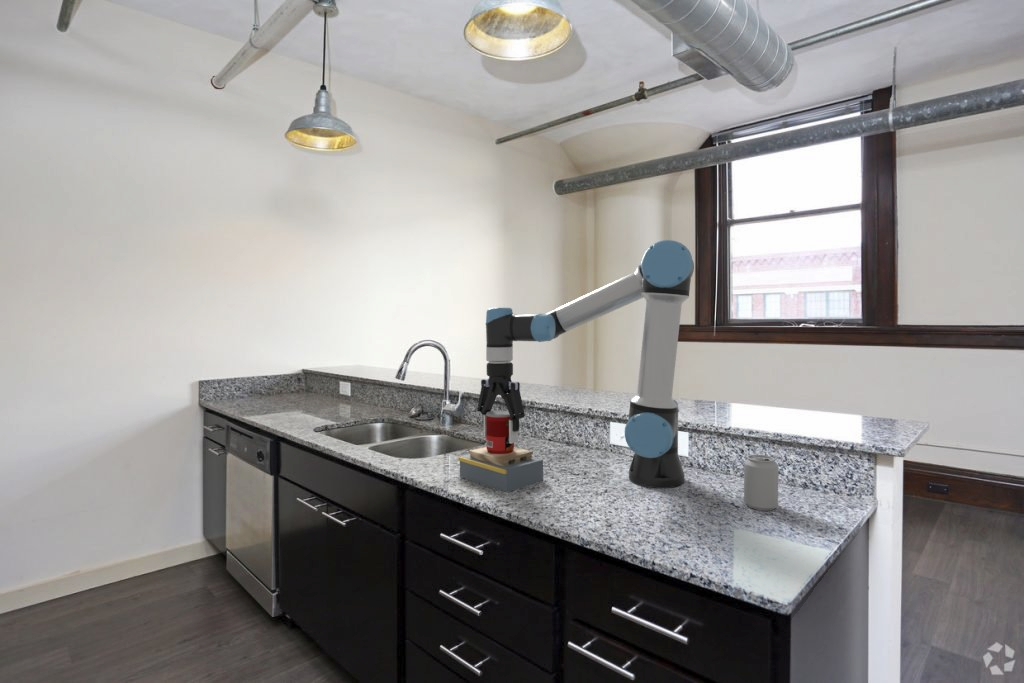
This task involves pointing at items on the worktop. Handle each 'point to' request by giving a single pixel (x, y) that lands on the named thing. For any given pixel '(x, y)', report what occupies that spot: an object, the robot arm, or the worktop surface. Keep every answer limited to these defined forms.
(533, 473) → the dock
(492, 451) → the canned food
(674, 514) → the worktop surface
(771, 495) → the can
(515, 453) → the pallet
